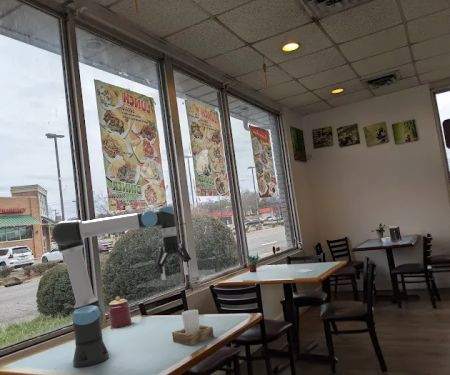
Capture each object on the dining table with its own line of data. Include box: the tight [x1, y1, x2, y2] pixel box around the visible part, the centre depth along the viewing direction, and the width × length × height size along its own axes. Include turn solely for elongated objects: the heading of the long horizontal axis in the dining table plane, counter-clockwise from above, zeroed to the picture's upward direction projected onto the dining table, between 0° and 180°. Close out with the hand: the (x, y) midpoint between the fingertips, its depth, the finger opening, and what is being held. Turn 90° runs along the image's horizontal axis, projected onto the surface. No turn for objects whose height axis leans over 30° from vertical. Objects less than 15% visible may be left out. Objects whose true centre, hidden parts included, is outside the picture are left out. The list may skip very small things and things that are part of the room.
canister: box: [107, 296, 132, 329], centre depth 251 cm, size 13×13×18 cm
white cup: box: [181, 309, 200, 334], centre depth 193 cm, size 8×8×10 cm
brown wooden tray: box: [171, 324, 215, 346], centre depth 192 cm, size 14×14×4 cm
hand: (175, 277), depth 208 cm, fingers open, 13 cm apart
